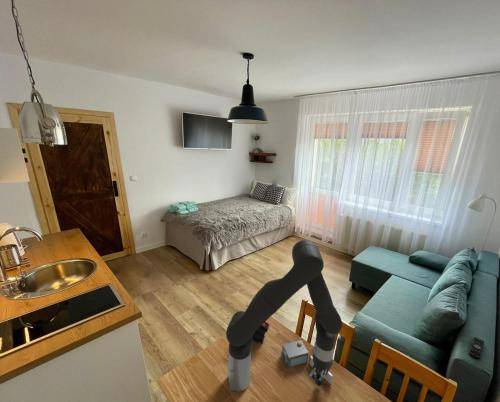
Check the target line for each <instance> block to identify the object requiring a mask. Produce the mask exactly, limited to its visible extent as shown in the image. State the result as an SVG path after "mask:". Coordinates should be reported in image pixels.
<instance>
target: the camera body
mask: <svg viewBox="0 0 500 402" xmlns="http://www.w3.org/2000/svg"><path fill="white" fill-rule="evenodd" d="M281 348H282V349H281V352H280V358H281V360H282V362H283V363H284V364H285V365H286V366H287V368H292V367H293V368H294V367H297V366H300V365H302V364H306V363H308V361H309V351H308V349H307V347H306V346H305V344H304V342H303V340H302V339H300V340H296V341H291V342H287V343H284V344H282V347H281Z"/></svg>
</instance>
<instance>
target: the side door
mask: <svg viewBox="0 0 500 402" xmlns="http://www.w3.org/2000/svg"><path fill="white" fill-rule="evenodd" d="M307 363H308V365H309V366H310V367H312V368H313V366H314V362H313V355H311V354H308V361H307ZM323 379H324V380H325V381H327V383H328V384H330V385H331V384H332V380H333V374H332V373H331V372H330V371H329V372H328V373H327V375H326V376H324V378H323Z"/></svg>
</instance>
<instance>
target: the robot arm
mask: <svg viewBox="0 0 500 402" xmlns="http://www.w3.org/2000/svg"><path fill="white" fill-rule="evenodd" d="M291 257H292V263H293V265H292V267H291V268H290V269H289V271H288V272H287V273H286V274H285V275H284V276H282V277H281V278H278V279H271V280H269V281H267V282H266V283H265V284H264V285H263V286H262V287H261V288H260V289H259V290H258V291H257V293H255V295H254V297H253V298H252V300H251V301H250V303H249V304H248V306H247V308H246V309H245V310H244V311H243V310H239V311H237V312H235V313H234V314H233V315H232V317H231V319H230V321H229V322H228V325H227V328H226V332H225V337H226V340H227V342H228V360H227V380H228V384H229V385H228V386H229V389H230V391H235V392H238V393H240V392H243V391H246V390H247V389H248V388H249V386H250V384H251V365H252V364H251V360H252V357H251V356H252V345H253V341H252V340H253V334H254V332H255V331H256V330H257V329H258V328H259V327H260V326H261V325H262V324H263V323H264V322H267V321H268V320H269V319H270V318H271V317H272V316H273V315H275V313H276V312H278V310H279V309H281V308H282V307H283V306H284V305H285V304H286V303H287V301H289V299H291V298H292V297H293V296H294V295H295V294H296V293H298V291H300V290H301V289H302V288H304V287H305V286H307V290H308V294H309V297H310V300H311V303H312V306H313V307H314V309H315V313H314V323H315V324H314V325H315V331H316V335H315V341H314V346H313V351H312V352H313V353H312V357H313V362H314V366H313V367H312V371H308V373H307V374H308V376H309V377H310V378H311V379H312V380H313V381H314V383H315V384H316V386H318V387H320V386H322V384H323V379H325V378H324V376H326V375H327V373H328V372H330V369H331V368H332V366H333V364H334V363H333V358H334V352H335V351H334V350H335V342H336V335H337V334H339V333H340V332H341V331H342V330H343V321H342V318H341V315H340V313H339V312H338V311H337V308H336V307H335V305H334V303H333V302H334V301H333V299H332V296H331V293H330V291H329V288H328V286H327V284H326V281H325V278H324V275H323V273H322V272H323V270H324V265H325V264H324V260H323V257H322V254H321V252H320V249H319V247H318V246H317V245H316V244H315V243H314V242H313V241H311V240H309V239H308V240H307V239H302V240H299V241H297V242H296V243H295V244H294V245H293V247H292V249H291Z"/></svg>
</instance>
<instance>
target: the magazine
mask: <svg viewBox="0 0 500 402" xmlns="http://www.w3.org/2000/svg"><path fill="white" fill-rule="evenodd" d="M269 327H270V323H268V322H267V321H265V322H264V323H263V324H262V325H261V326H260V327H259V328H258V329H257V330H256V331H255V332H254V334H253V340H252V342H255V343H259V344H260V345H262V344H263V343H264V340H265V338H266V333H268V330H269Z"/></svg>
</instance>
